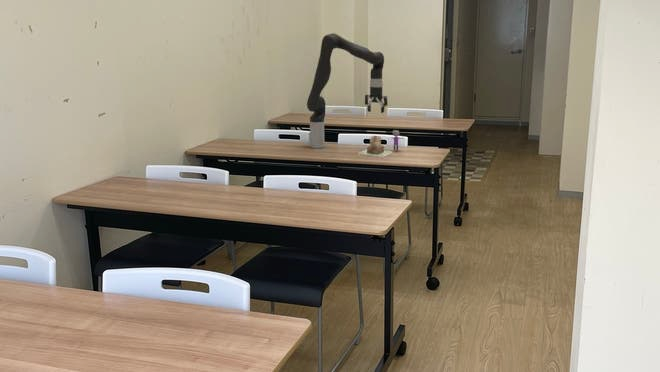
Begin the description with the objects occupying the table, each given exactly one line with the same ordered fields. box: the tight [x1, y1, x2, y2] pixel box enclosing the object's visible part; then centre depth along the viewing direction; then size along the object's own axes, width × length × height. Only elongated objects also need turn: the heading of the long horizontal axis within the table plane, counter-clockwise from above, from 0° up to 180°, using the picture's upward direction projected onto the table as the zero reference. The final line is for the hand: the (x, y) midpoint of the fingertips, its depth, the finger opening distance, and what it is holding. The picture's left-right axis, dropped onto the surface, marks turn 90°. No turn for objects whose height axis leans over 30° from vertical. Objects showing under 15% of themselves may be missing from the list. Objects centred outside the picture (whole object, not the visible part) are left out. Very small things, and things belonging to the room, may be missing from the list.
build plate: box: [357, 148, 393, 158], centre depth 388 cm, size 18×14×2 cm
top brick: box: [369, 135, 382, 148], centre depth 385 cm, size 5×5×7 cm
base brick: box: [366, 144, 385, 155], centre depth 387 cm, size 8×8×4 cm
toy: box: [392, 129, 405, 152], centre depth 389 cm, size 10×6×15 cm, turn 84°
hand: (375, 112), depth 380 cm, fingers open, 8 cm apart
